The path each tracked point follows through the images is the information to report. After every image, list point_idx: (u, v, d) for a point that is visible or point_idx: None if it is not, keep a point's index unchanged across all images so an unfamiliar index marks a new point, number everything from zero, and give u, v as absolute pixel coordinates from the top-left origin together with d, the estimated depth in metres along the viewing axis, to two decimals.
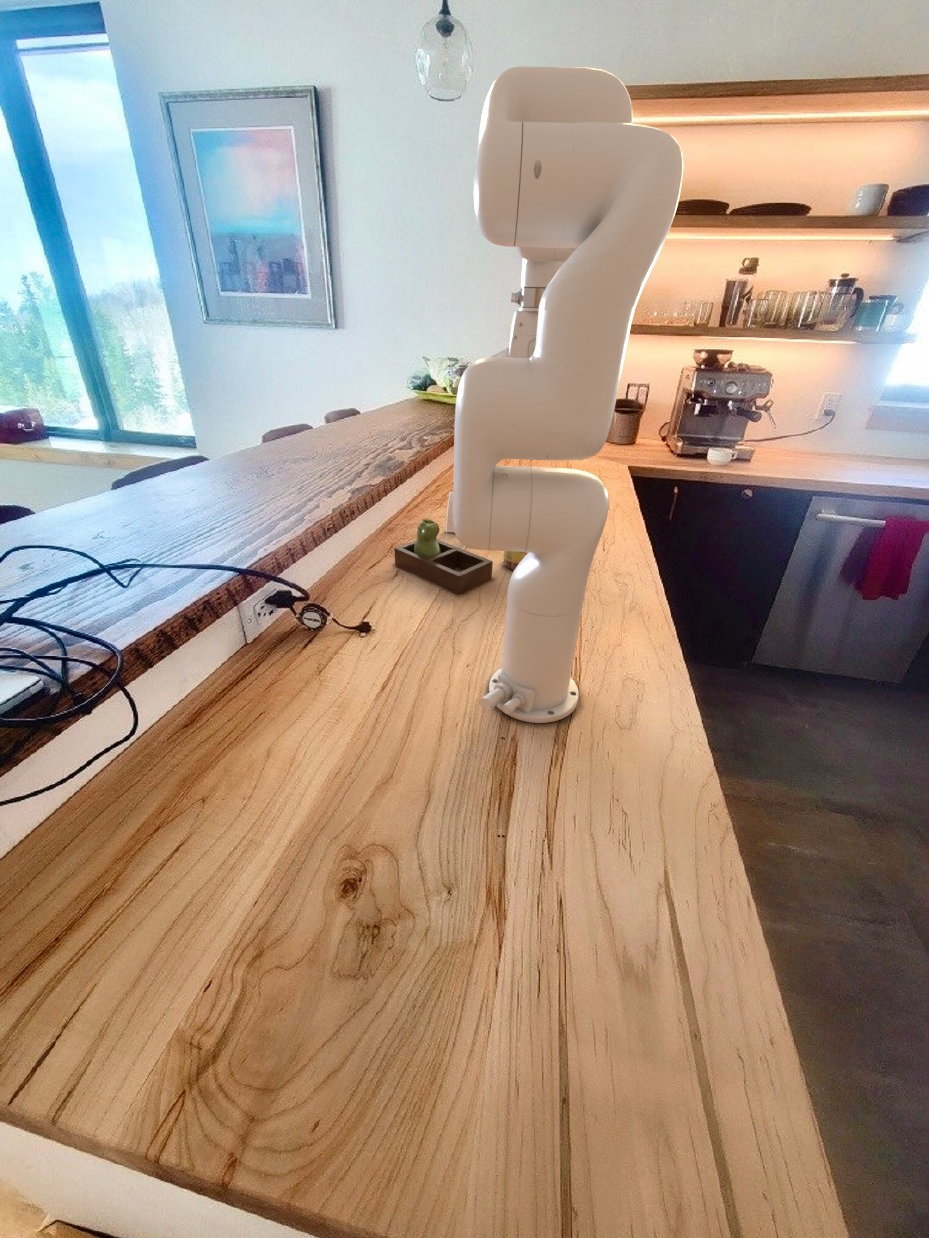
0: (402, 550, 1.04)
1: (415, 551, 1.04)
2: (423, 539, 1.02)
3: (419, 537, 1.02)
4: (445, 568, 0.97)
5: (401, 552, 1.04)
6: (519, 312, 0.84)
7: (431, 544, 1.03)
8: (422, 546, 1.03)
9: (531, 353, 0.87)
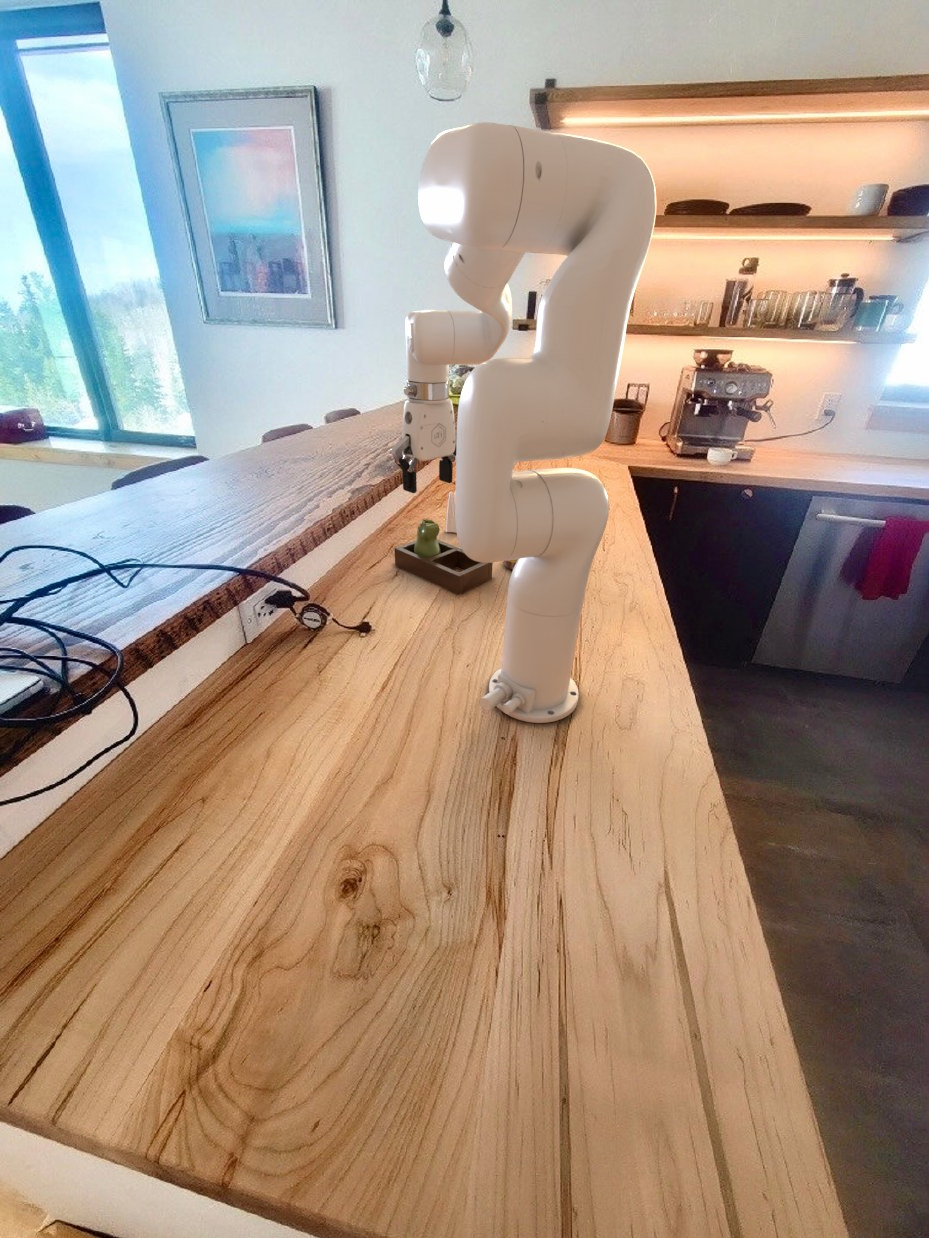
0: (402, 550, 1.04)
1: (415, 551, 1.04)
2: (423, 539, 1.02)
3: (419, 537, 1.02)
4: (445, 568, 0.97)
5: (401, 552, 1.04)
6: (421, 405, 0.87)
7: (431, 544, 1.03)
8: (422, 546, 1.03)
9: (433, 439, 0.92)
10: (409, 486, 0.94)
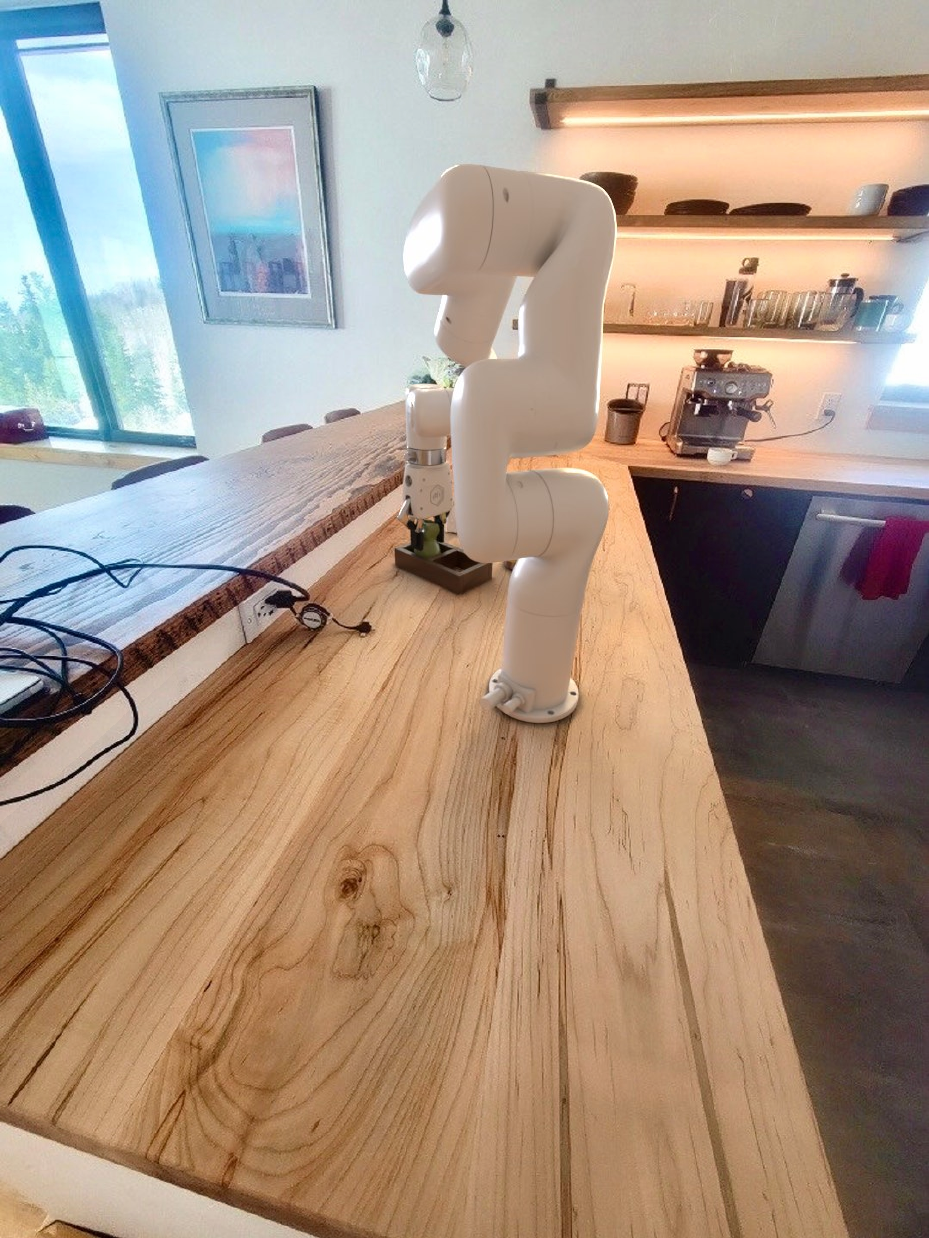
0: (402, 550, 1.04)
1: (415, 551, 1.04)
2: (423, 539, 1.02)
3: None
4: (445, 568, 0.97)
5: (401, 552, 1.04)
6: (420, 470, 0.93)
7: (431, 544, 1.03)
8: None
9: (432, 499, 0.97)
10: (416, 544, 1.01)
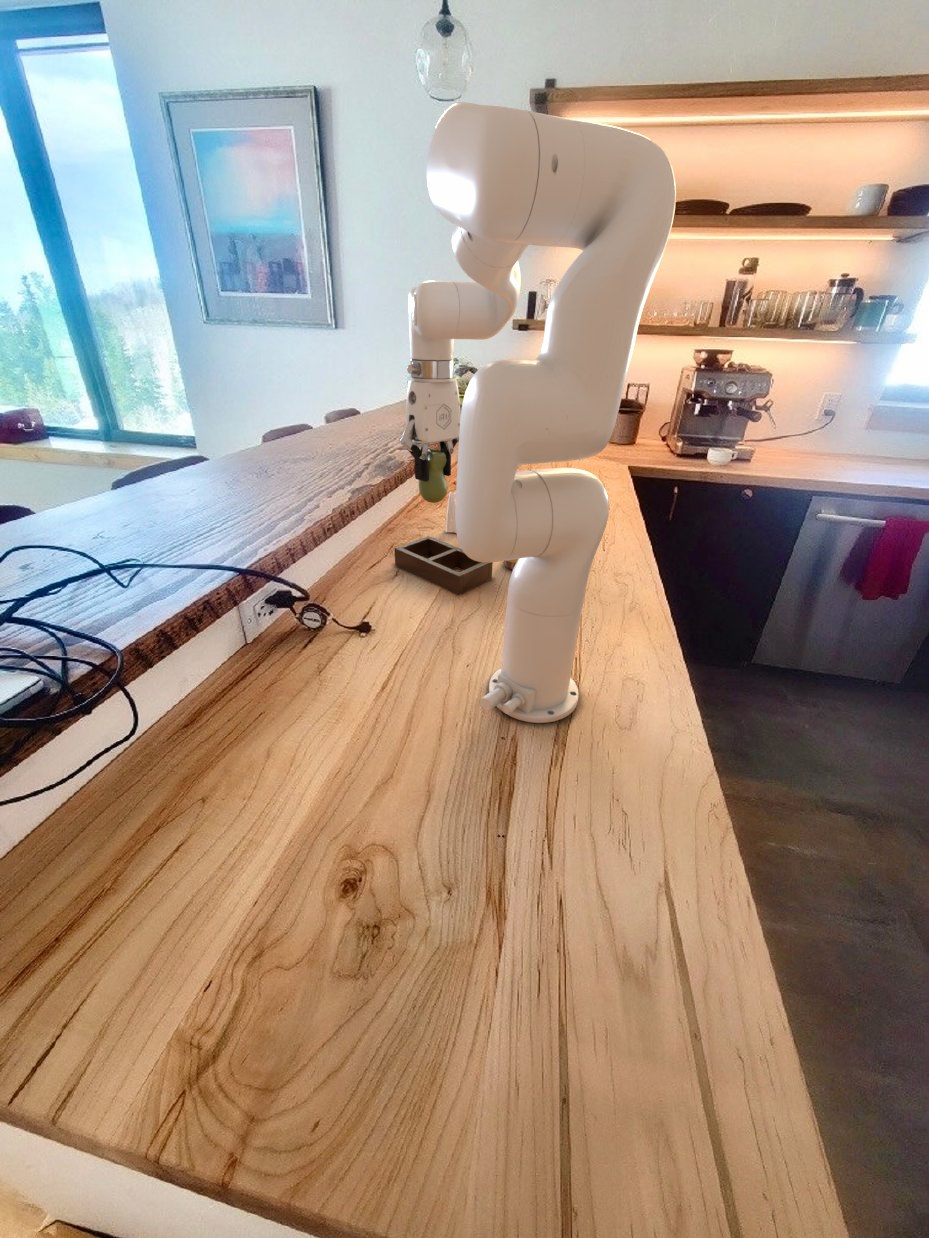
0: (402, 550, 1.04)
1: (420, 484, 0.95)
2: (429, 469, 0.93)
3: None
4: (445, 568, 0.97)
5: (401, 552, 1.04)
6: (425, 384, 0.84)
7: (438, 476, 0.94)
8: None
9: (438, 420, 0.88)
10: (421, 474, 0.92)
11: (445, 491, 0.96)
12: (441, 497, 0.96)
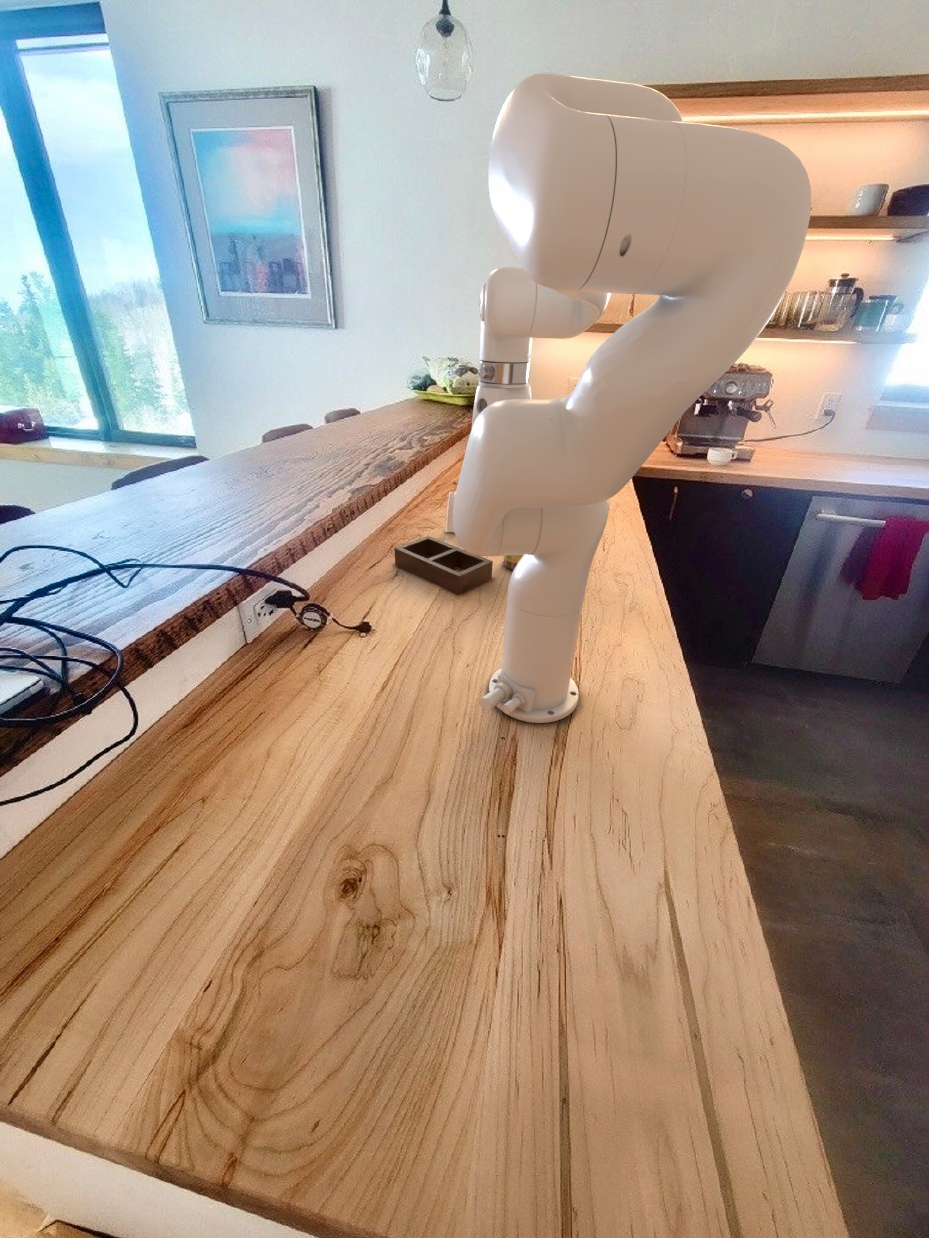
0: (402, 550, 1.04)
1: None
2: None
3: None
4: (445, 568, 0.97)
5: (401, 552, 1.04)
6: (499, 390, 0.72)
7: None
8: None
9: None
10: None
11: None
12: None
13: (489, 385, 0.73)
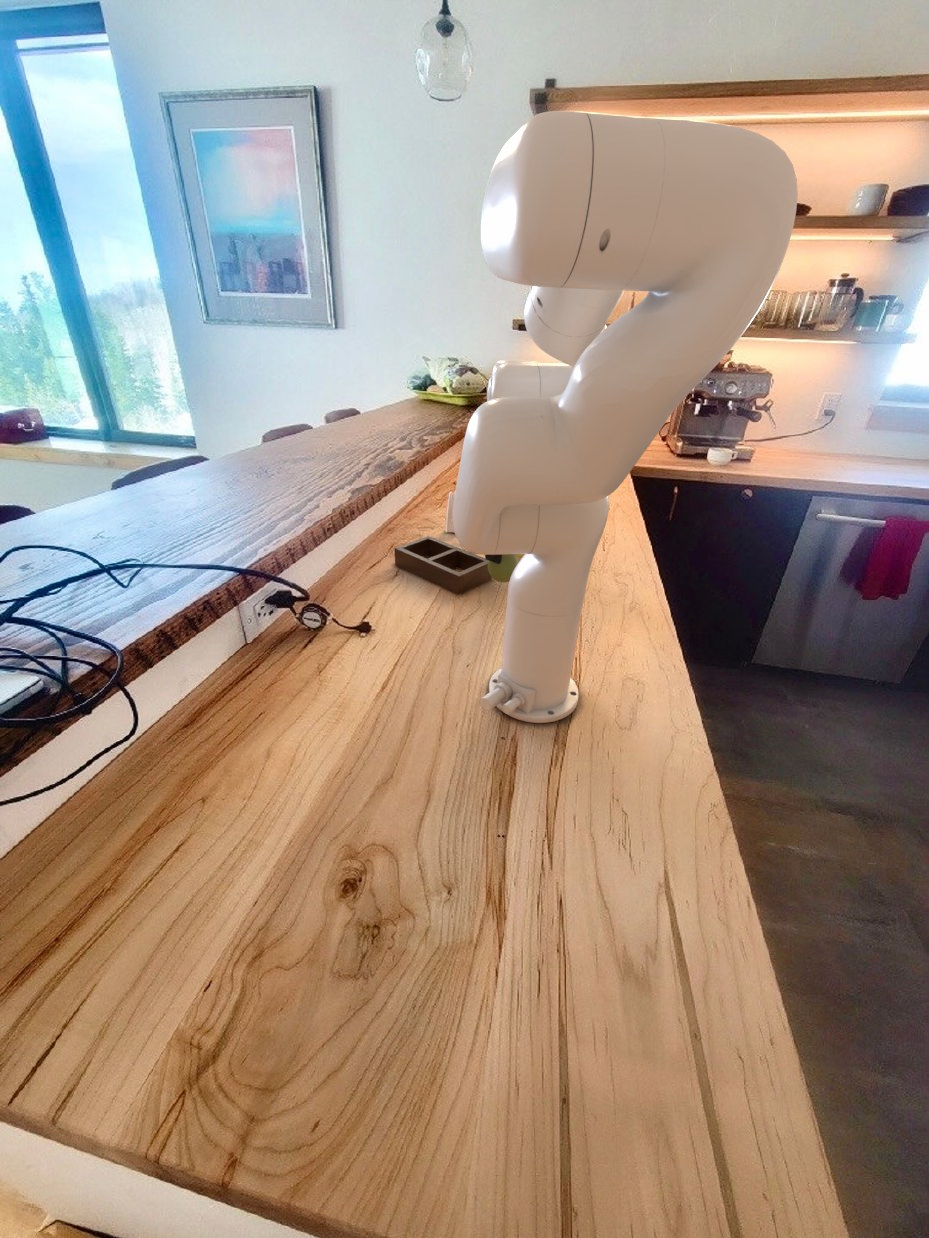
0: (402, 550, 1.04)
1: (490, 564, 0.87)
2: None
3: None
4: (445, 568, 0.97)
5: (401, 552, 1.04)
6: None
7: (510, 556, 0.86)
8: None
9: None
10: (494, 556, 0.84)
11: None
12: None
13: None
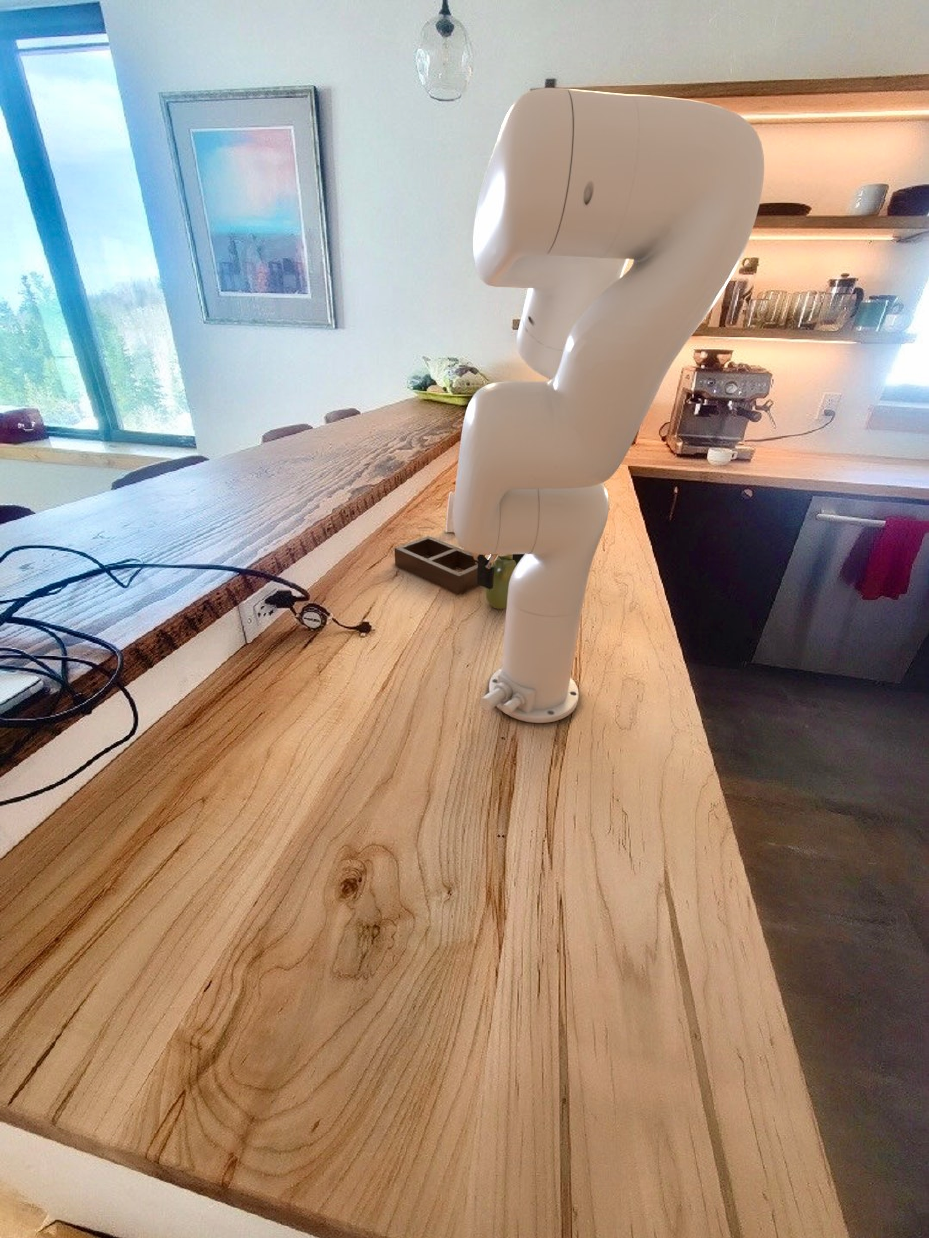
0: (402, 550, 1.04)
1: (488, 592, 0.90)
2: (499, 579, 0.88)
3: (494, 576, 0.88)
4: (445, 568, 0.97)
5: (401, 552, 1.04)
6: None
7: (507, 584, 0.89)
8: (497, 587, 0.88)
9: None
10: (485, 582, 0.85)
11: None
12: None
13: None
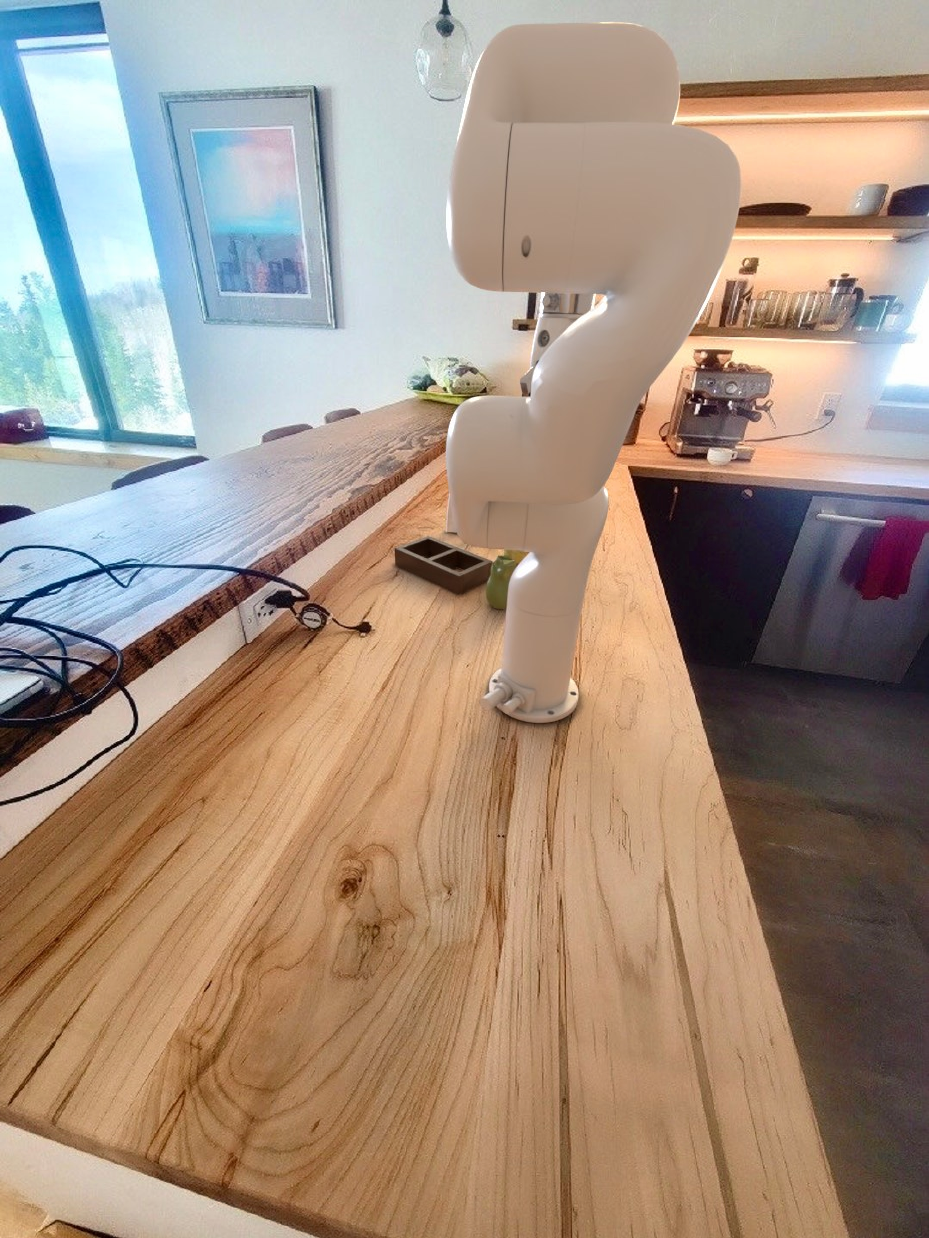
0: (402, 550, 1.04)
1: (488, 592, 0.90)
2: (499, 579, 0.88)
3: (494, 576, 0.88)
4: (445, 568, 0.97)
5: (401, 552, 1.04)
6: (563, 320, 0.67)
7: (507, 584, 0.89)
8: (497, 587, 0.88)
9: None
10: None
11: None
12: None
13: (552, 315, 0.68)
